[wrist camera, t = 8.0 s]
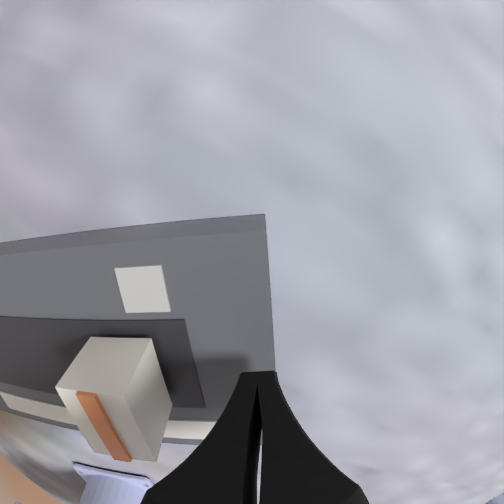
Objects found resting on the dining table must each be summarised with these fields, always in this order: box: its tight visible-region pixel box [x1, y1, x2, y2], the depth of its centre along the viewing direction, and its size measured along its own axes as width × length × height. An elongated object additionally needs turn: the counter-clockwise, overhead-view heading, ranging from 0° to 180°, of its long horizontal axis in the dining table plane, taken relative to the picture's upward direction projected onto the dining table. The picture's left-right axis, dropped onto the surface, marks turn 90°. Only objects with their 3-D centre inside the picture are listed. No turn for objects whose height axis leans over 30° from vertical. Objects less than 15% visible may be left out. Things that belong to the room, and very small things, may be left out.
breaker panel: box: [0, 214, 275, 445], centre depth 15 cm, size 12×22×3 cm, turn 95°
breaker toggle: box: [55, 337, 172, 462], centre depth 12 cm, size 4×3×4 cm
